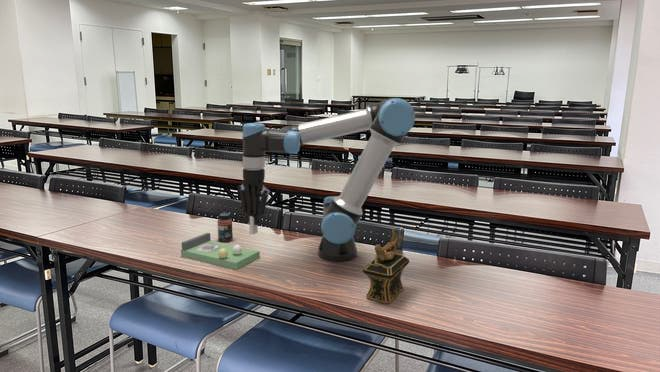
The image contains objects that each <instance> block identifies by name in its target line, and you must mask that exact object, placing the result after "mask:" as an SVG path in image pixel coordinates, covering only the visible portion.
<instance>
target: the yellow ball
mask: <svg viewBox="0 0 660 372" xmlns="http://www.w3.org/2000/svg"><path fill="white" fill-rule="evenodd" d="M218 256H219V257H220V258H226V257H227V256H228V251H227V249H225V248H222V249H220V250H219V251H218Z"/></svg>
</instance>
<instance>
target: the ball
mask: <svg viewBox="0 0 660 372" xmlns="http://www.w3.org/2000/svg"><path fill="white" fill-rule="evenodd" d="M232 251H233V253H234V254H236V255H239V254H240V253H241V252H242V245H240V244H235V245H234V247H233V248H232Z"/></svg>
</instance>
